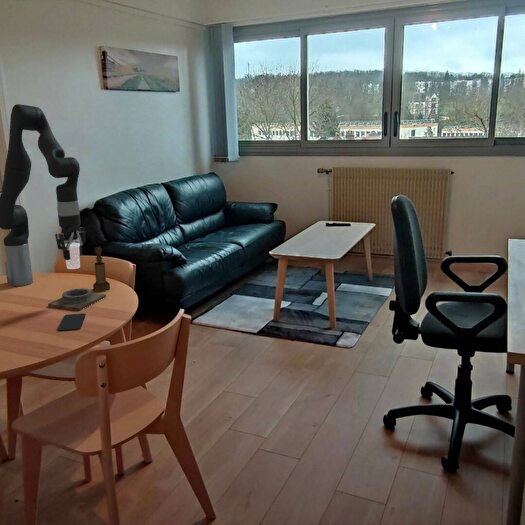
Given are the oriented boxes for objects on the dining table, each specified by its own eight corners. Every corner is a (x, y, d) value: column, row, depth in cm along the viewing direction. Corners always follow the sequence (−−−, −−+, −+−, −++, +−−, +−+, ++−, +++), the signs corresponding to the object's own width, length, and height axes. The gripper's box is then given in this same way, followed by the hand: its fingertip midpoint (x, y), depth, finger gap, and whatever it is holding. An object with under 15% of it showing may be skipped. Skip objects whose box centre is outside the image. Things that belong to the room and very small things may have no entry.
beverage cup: (61, 267, 196) (57, 231, 193) (77, 264, 201) (73, 228, 197) (69, 270, 192) (65, 233, 189) (85, 267, 197) (81, 230, 193)
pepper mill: (107, 292, 211) (103, 248, 207) (91, 292, 212) (87, 248, 207) (112, 287, 218) (108, 244, 213) (96, 287, 218) (92, 244, 213)
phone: (86, 313, 187) (80, 328, 173) (86, 315, 187) (80, 330, 173) (64, 314, 186) (56, 330, 172) (64, 316, 186) (56, 332, 172)
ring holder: (48, 306, 195) (47, 297, 194) (76, 293, 209) (75, 284, 208) (79, 311, 190) (78, 301, 189) (106, 297, 205) (105, 288, 204)
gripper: (73, 209, 199) (77, 252, 203) (46, 215, 186) (51, 261, 190) (89, 210, 196) (94, 254, 201) (63, 217, 183) (68, 263, 188)
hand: (73, 257), depth 195 cm, fingers closed on beverage cup, 6 cm apart
